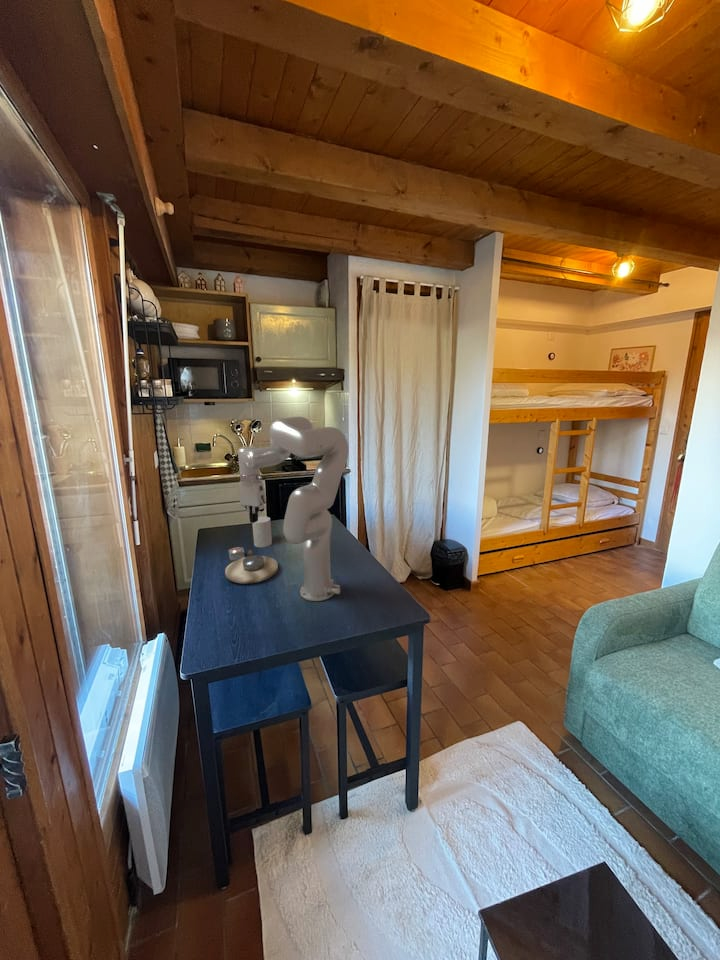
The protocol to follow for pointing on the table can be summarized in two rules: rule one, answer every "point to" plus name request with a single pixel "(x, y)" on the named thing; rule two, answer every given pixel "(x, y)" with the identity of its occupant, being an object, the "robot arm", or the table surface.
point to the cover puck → (253, 563)
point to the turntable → (241, 576)
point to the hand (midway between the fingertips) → (254, 521)
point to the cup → (262, 532)
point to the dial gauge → (236, 553)
